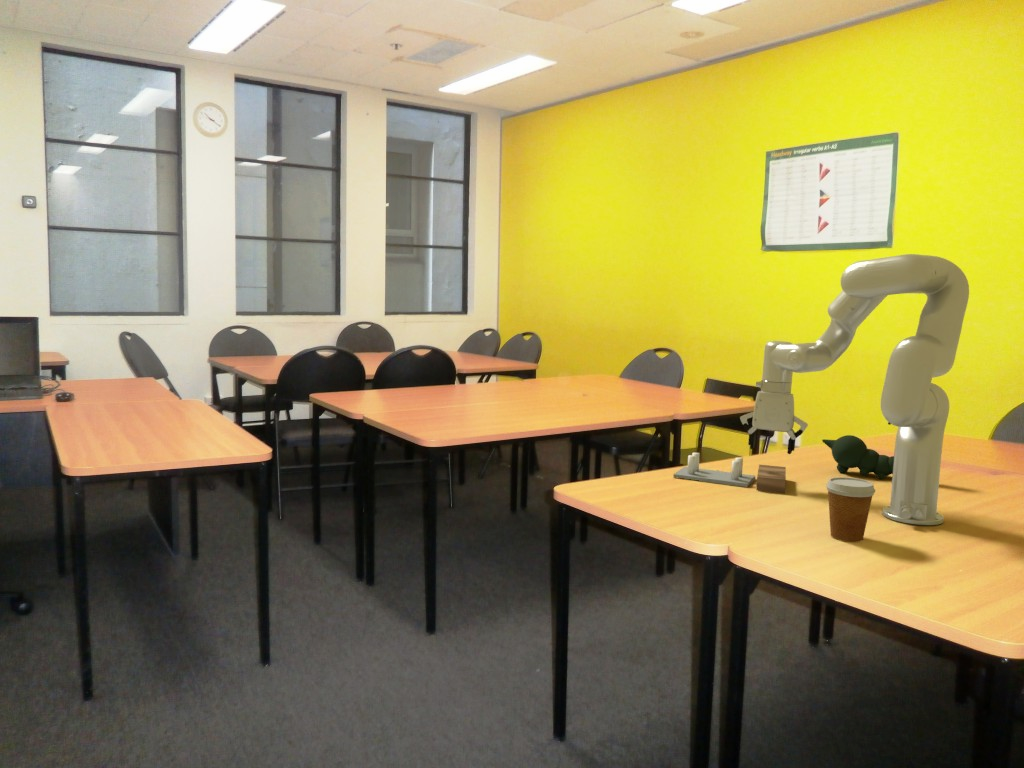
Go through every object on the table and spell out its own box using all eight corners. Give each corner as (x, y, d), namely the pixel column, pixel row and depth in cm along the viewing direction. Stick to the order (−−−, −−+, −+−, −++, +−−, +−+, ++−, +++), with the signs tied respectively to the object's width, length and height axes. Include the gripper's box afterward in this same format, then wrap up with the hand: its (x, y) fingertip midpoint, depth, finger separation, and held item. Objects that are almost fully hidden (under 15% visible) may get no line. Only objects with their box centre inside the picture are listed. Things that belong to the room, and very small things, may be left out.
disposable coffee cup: (848, 546, 155) (852, 489, 154) (812, 533, 164) (816, 478, 162) (881, 541, 159) (886, 485, 157) (845, 528, 167) (849, 475, 166)
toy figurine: (912, 483, 217) (820, 464, 230) (924, 419, 214) (830, 403, 227) (909, 490, 209) (814, 470, 222) (922, 423, 206) (825, 406, 219)
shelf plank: (784, 494, 197) (785, 479, 197) (756, 491, 199) (757, 477, 199) (784, 481, 212) (785, 466, 212) (758, 478, 214) (759, 464, 214)
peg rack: (747, 487, 202) (748, 465, 202) (673, 477, 212) (674, 456, 211) (755, 479, 212) (756, 457, 211) (684, 470, 221) (685, 449, 221)
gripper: (740, 386, 203) (735, 448, 206) (808, 392, 195) (802, 457, 198) (745, 383, 210) (741, 443, 212) (812, 389, 202) (806, 452, 204)
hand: (770, 450), depth 205 cm, fingers open, 9 cm apart
